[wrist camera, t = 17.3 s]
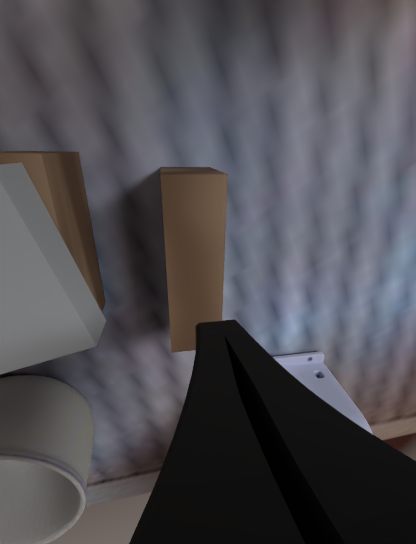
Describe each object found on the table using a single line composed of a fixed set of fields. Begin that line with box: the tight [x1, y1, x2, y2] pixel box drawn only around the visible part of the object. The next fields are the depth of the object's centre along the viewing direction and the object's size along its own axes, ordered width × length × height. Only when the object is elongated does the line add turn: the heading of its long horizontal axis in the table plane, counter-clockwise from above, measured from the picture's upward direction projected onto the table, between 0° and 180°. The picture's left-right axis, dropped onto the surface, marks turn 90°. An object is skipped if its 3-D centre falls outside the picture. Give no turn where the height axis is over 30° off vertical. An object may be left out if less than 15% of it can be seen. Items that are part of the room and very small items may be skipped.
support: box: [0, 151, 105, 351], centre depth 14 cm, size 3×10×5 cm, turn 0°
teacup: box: [0, 375, 94, 544], centre depth 19 cm, size 14×11×8 cm
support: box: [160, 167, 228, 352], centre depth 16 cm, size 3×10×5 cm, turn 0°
